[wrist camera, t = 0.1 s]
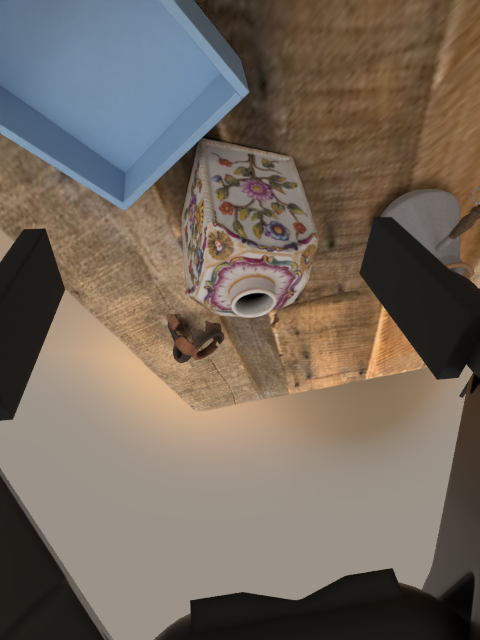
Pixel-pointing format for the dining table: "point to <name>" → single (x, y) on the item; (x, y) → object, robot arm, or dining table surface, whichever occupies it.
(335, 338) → the dining table surface
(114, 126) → the tote
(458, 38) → the dining table surface
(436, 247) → the coffee pot
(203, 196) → the decorative jar
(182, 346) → the pottery mug
